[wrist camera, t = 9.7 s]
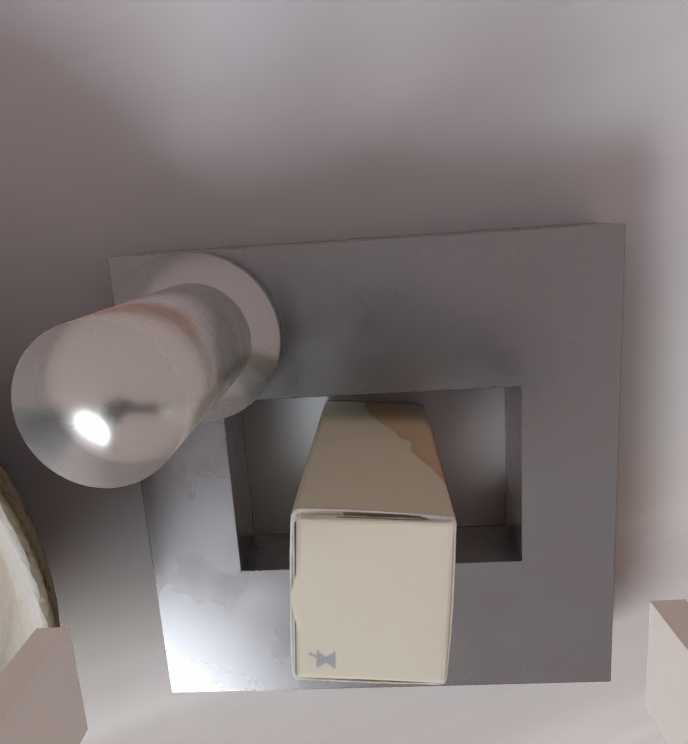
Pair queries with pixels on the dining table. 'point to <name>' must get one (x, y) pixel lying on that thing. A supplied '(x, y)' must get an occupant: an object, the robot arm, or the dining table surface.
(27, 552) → the bowl
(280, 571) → the square recessed tray
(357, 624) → the box
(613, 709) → the dining table surface
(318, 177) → the dining table surface
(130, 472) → the round door knob
